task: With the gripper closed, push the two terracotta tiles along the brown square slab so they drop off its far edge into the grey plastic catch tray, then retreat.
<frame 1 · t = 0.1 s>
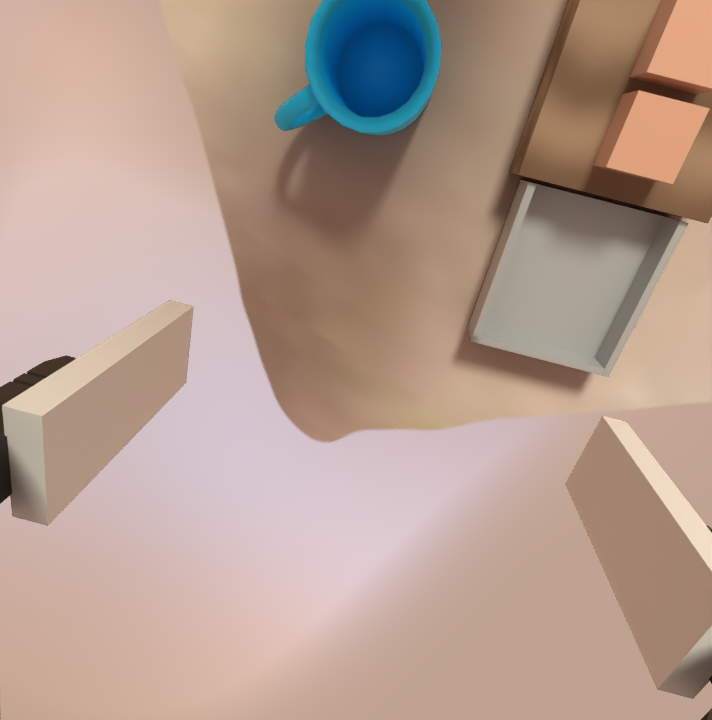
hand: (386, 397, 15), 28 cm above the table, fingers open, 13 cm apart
brown square slab: (638, 95, 34), on the table
mug: (358, 89, 36), on the table
catch tray: (560, 277, 40), on the table
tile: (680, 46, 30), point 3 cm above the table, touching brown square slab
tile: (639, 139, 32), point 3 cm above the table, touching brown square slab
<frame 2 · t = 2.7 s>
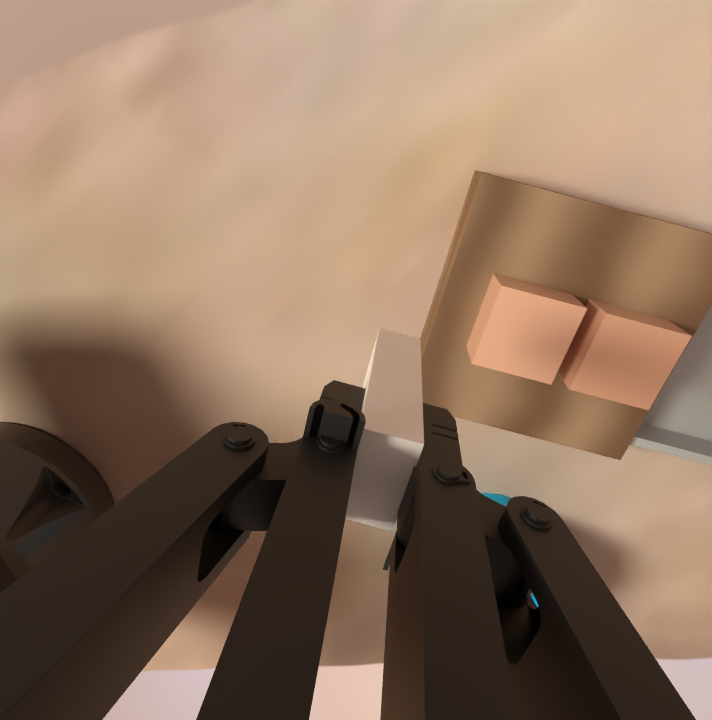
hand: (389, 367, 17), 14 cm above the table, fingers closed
brown square slab: (543, 313, 30), on the table
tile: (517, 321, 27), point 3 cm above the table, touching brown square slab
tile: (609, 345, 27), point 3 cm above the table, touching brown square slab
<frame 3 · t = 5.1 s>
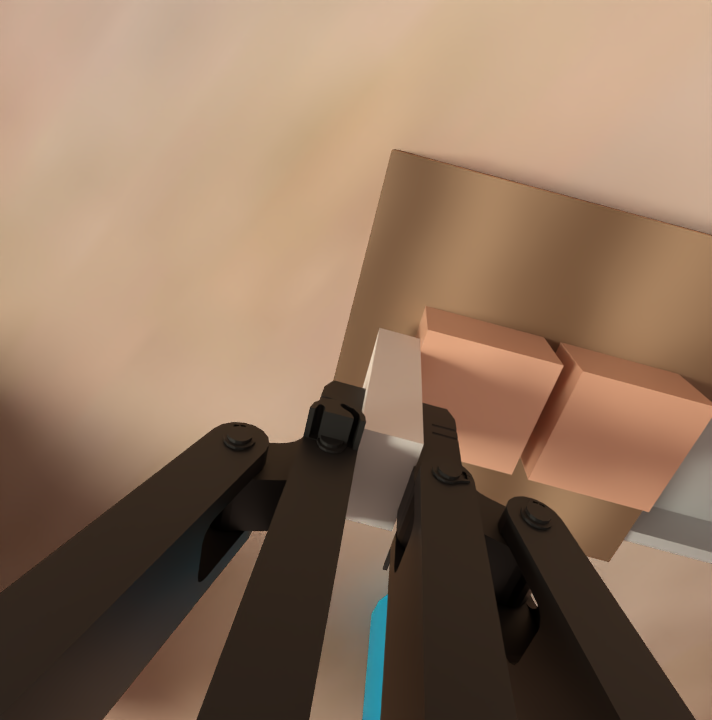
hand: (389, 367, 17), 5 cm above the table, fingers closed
brown square slab: (502, 353, 22), on the table
mug: (446, 645, 30), on the table
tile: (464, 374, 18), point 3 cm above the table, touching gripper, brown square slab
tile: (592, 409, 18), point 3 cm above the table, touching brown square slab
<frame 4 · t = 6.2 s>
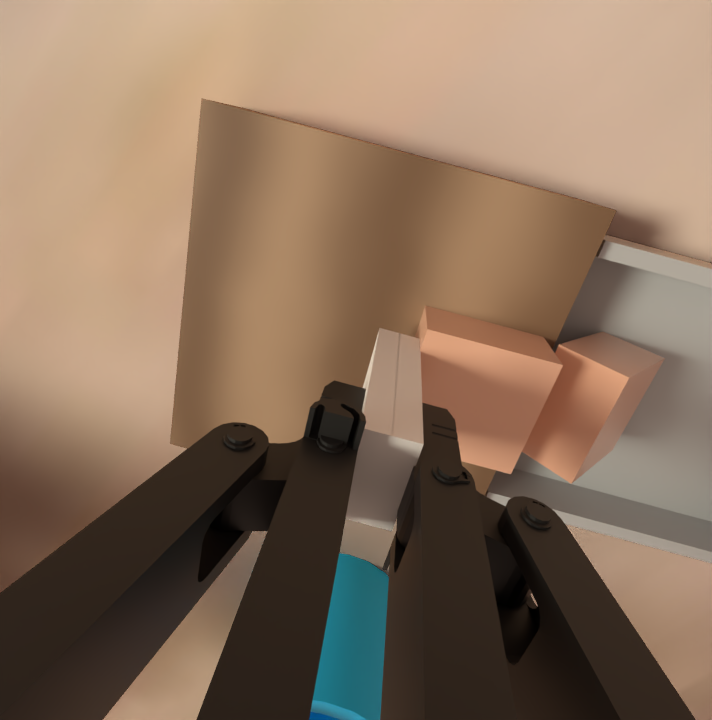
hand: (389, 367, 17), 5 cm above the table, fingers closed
brown square slab: (365, 316, 22), on the table
mug: (349, 618, 30), on the table
catch tray: (659, 395, 22), on the table
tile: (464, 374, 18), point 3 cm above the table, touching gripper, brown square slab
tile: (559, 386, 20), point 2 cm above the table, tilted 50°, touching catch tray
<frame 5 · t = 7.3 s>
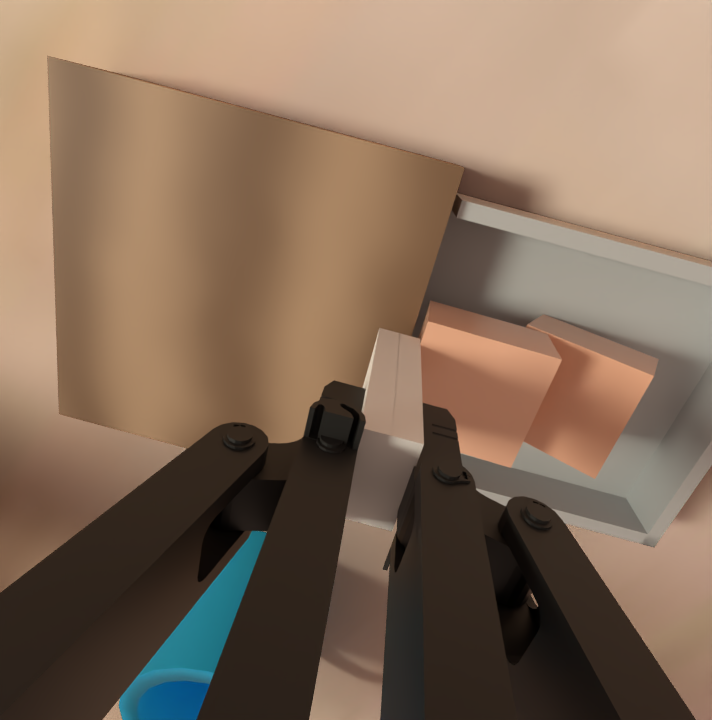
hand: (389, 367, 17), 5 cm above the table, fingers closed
brown square slab: (256, 286, 22), on the table
mug: (272, 598, 30), on the table
catch tray: (551, 365, 22), on the table
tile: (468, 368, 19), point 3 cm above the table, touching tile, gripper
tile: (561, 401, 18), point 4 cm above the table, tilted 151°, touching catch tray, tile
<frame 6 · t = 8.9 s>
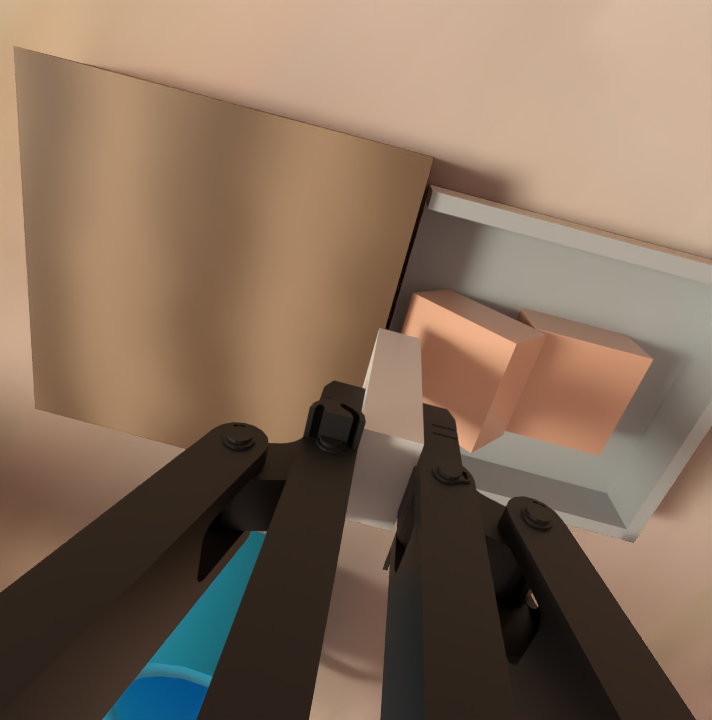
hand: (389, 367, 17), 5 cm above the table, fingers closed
brown square slab: (233, 280, 21), on the table
mug: (256, 594, 30), on the table
catch tray: (529, 359, 21), on the table
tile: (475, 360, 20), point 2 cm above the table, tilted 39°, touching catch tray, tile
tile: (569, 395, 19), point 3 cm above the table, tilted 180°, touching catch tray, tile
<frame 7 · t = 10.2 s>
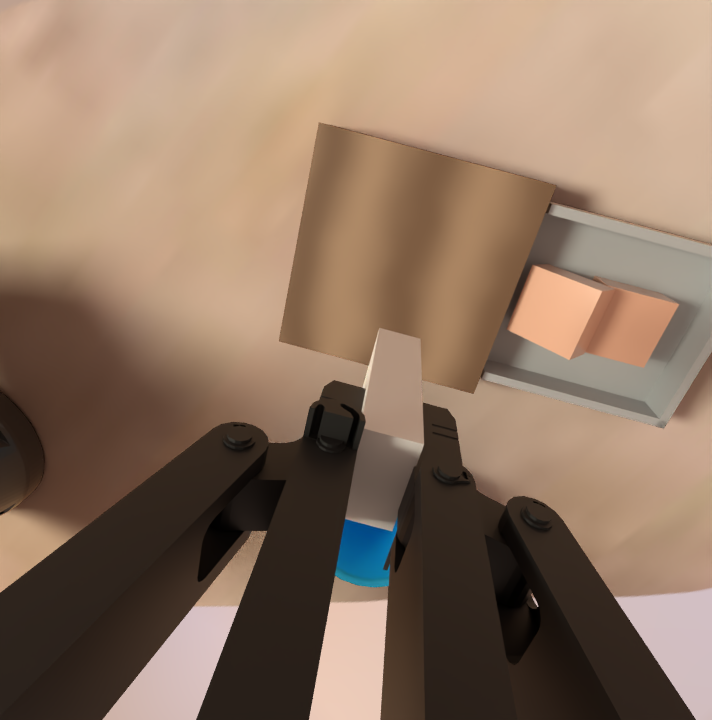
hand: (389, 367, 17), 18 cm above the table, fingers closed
brown square slab: (405, 259, 33), on the table
mug: (386, 489, 42), on the table
catch tray: (596, 310, 33), on the table
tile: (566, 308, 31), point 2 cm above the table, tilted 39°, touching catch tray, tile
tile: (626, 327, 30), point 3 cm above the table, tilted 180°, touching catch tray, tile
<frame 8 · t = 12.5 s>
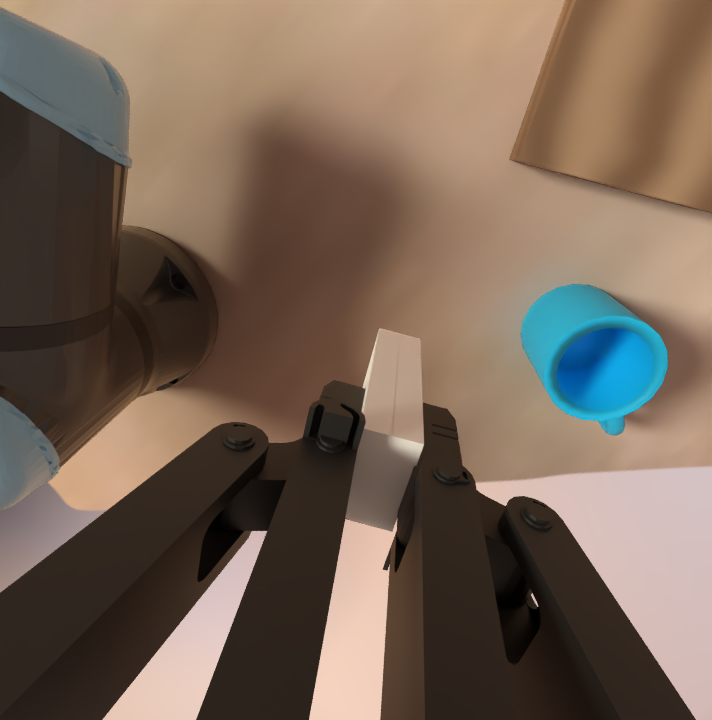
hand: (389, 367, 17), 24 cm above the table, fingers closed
brown square slab: (644, 79, 33), on the table
mug: (575, 348, 42), on the table
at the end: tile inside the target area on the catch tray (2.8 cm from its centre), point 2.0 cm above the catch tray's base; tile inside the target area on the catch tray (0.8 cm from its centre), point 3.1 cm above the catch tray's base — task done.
